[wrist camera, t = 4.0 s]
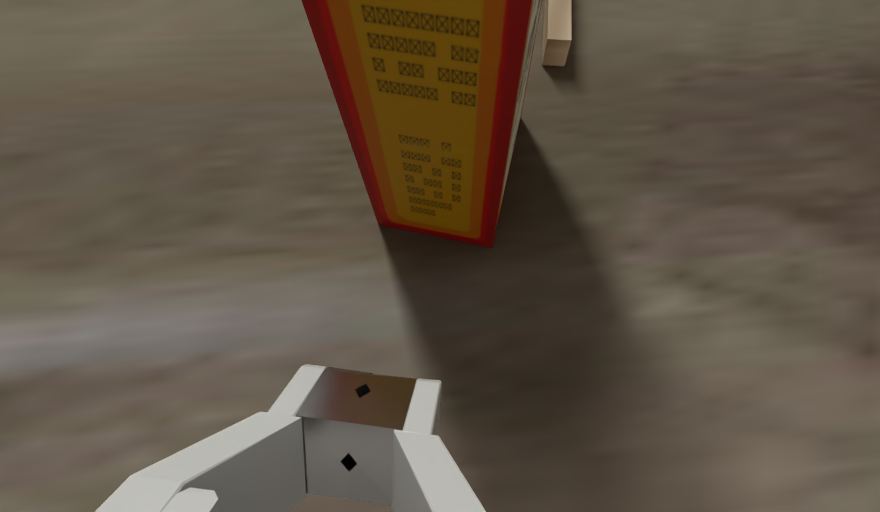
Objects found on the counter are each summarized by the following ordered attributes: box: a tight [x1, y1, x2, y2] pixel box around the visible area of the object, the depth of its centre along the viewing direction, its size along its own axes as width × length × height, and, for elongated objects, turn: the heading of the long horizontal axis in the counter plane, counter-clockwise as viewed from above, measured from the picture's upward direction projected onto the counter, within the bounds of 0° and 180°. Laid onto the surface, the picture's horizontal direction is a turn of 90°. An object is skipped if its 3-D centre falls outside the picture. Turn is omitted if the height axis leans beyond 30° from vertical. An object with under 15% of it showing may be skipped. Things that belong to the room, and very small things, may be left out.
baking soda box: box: [302, 0, 542, 248], centre depth 19 cm, size 10×6×16 cm
